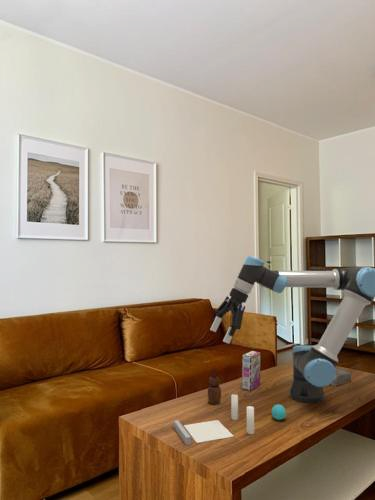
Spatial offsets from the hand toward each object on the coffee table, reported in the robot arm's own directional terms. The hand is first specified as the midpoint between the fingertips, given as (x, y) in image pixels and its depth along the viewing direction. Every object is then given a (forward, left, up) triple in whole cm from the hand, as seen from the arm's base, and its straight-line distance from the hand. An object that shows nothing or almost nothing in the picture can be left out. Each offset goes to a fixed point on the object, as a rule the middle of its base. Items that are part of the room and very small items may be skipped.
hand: (219, 336), depth 157 cm
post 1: (-2, +11, -30) cm, 32 cm away
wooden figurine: (-1, -7, -30) cm, 31 cm away
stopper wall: (+22, +17, -30) cm, 41 cm away
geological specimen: (-70, -12, -31) cm, 77 cm away
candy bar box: (-26, -19, -30) cm, 44 cm away
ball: (-18, +17, -27) cm, 37 cm away
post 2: (-2, +24, -30) cm, 38 cm away
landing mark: (+12, +17, -30) cm, 37 cm away
